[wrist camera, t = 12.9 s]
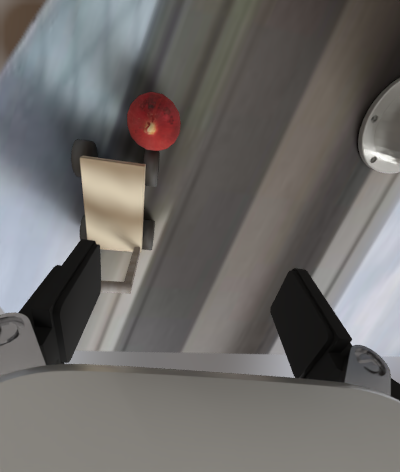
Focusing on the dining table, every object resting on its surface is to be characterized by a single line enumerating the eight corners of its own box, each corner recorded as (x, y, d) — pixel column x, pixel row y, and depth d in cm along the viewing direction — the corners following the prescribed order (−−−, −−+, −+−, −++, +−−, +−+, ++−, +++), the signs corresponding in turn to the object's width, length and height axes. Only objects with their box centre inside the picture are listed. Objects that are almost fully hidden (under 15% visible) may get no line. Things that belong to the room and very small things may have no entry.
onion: (133, 88, 27) (119, 85, 21) (182, 97, 28) (184, 98, 21) (132, 140, 30) (119, 153, 23) (177, 147, 31) (177, 162, 24)
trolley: (83, 136, 30) (21, 163, 18) (160, 148, 31) (148, 180, 19) (91, 234, 37) (50, 298, 25) (153, 240, 38) (142, 303, 27)
